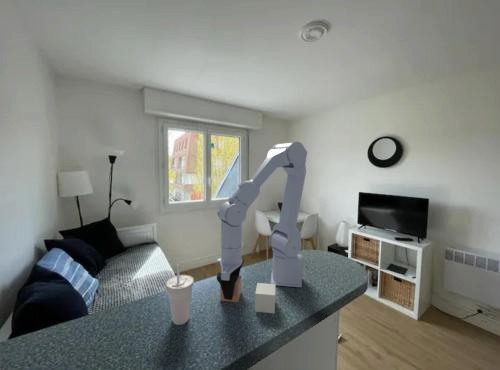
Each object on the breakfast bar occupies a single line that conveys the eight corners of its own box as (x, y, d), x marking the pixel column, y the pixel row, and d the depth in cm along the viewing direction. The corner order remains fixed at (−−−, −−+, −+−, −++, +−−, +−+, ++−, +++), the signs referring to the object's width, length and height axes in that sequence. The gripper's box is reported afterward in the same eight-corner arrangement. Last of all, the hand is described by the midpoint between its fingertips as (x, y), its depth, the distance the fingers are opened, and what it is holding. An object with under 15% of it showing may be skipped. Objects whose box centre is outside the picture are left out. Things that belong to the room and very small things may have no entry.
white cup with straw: (160, 322, 52) (159, 266, 51) (180, 307, 58) (179, 256, 56) (180, 333, 49) (179, 273, 48) (200, 315, 55) (199, 261, 53)
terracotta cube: (241, 291, 65) (241, 275, 65) (238, 302, 60) (238, 285, 60) (224, 290, 66) (224, 274, 65) (220, 300, 61) (220, 283, 60)
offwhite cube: (275, 301, 61) (275, 284, 60) (274, 313, 56) (275, 295, 55) (257, 299, 61) (257, 282, 61) (255, 311, 57) (255, 293, 56)
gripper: (223, 235, 69) (223, 276, 70) (209, 254, 55) (209, 306, 56) (246, 237, 68) (245, 278, 70) (237, 256, 54) (236, 308, 55)
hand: (231, 291), depth 63 cm, fingers open, 6 cm apart
